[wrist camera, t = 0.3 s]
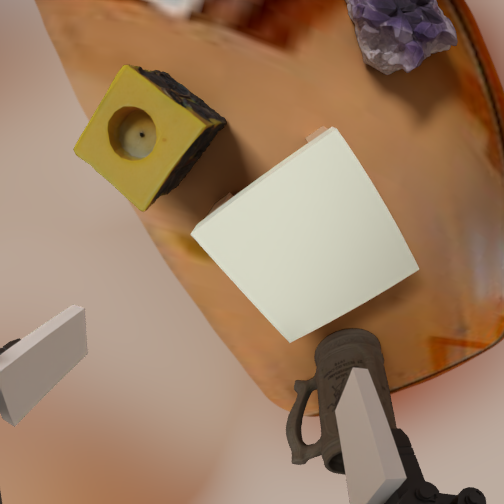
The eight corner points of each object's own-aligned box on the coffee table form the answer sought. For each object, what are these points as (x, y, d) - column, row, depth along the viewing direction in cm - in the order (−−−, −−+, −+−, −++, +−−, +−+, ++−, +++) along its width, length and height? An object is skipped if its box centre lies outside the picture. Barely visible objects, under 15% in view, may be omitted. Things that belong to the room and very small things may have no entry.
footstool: (323, 122, 32) (336, 128, 24) (394, 233, 37) (419, 269, 29) (210, 203, 37) (190, 234, 29) (289, 296, 42) (289, 342, 34)
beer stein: (369, 313, 42) (389, 435, 25) (393, 355, 46) (411, 463, 29) (280, 351, 48) (265, 463, 31) (312, 386, 51) (306, 487, 34)
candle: (177, 187, 37) (144, 217, 28) (116, 138, 35) (69, 153, 26) (231, 121, 33) (211, 128, 24) (163, 69, 30) (123, 62, 22)
